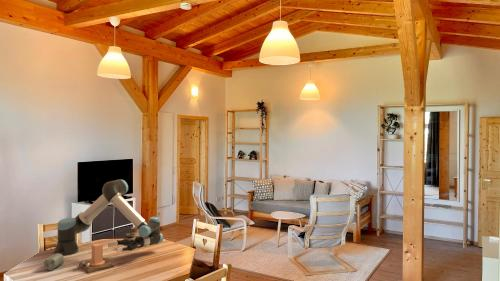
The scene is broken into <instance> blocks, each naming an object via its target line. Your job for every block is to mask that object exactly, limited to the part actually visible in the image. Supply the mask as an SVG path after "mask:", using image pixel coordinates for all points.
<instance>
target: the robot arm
mask: <svg viewBox="0 0 500 281" xmlns="http://www.w3.org/2000/svg"><path fill="white" fill-rule="evenodd" d="M101 190H102V191H101V192H102V194H101V195H100V196H99V197H98V198H97V199H96V200H95V201H93V203H92V204H91V205H90V206H88V208H86V210H84V211H82V212H79V213H78V214H77V215H76V216H75V217H67V218H62V219H60V220H59V221H58V222H57V226H56V227H57V243H56V245H55V249H54V254H57V253H60V254H62V255H63V256H71V255H74V254H76V253H78V252H79V246H78V243H77V239H76V238H77V235H78V234H80V233H83V232H86V231H87V230H89V229H90V228H91V226H92V224H93V220H94V219H95V218H96V217H97V216H98V215H99V214H100V213H101V212H103V211H104V210H105V209H106V208H107V207H108V206H109V205H110V204H112V205H113V206H114V207H115V208H116V209H117V210H118V211H120V213H121V214H122V216H124V217H125V218H126V219H127V220H128V221H130V222H131V224H132V225H133V227H136V228H137V232H138V233H139V235H140V237H136V238H135V240H132V239H129V240H123V239H119V240H118V239H117V240H116V241H114V242H113V241H112V242H108V243H107V248H113V247H116V253H121V252H126V251H130V252H132V251H134V250H136V249H140V248H146V247H148V246H154V245H158V244H161V243H163V241H164V235H163V233H162V232H160V231H161V230H160V229H161V228H160V227H161V219H160V217H159V216H151V217H150V218H149V220H148V221H146V220H145V218H144V217H142V215H141V214H140V213H139V212H138V211H137V210H136V209H135V208H134V207H133V206H132V205H131V204H130V203H129V202H128V201H127V200H126V199H125V198H124V197H123V196H124V195H126V194H127V192H128V191H129V185H128V183H127V182H126V180H124V179H116V180H110V181H107V182H105V183H104V184H103V187H102V188H101ZM128 243H129V244H128ZM124 245H127V246H124ZM118 246H120V247H118Z"/></svg>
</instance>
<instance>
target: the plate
mask: <svg viewBox="0 0 500 281" xmlns="http://www.w3.org/2000/svg"><path fill="white" fill-rule="evenodd" d="M103 260H104V261H105V264H104V265H102V266H98V267H92V266H90V268H89V269H86V266H82V262H81V263H78V268H80V269H82V270H83V271H84V272H85V273H87V274H91V273H96V272H99V271H100V272H101V271H105V270H108V269H112V268H114V267H115V264H113V263H112V262H110V261H108V260H107V259H105V258H103ZM91 261H92V260H90V261H86V263H90V262H91Z"/></svg>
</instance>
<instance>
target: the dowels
mask: <svg viewBox="0 0 500 281" xmlns="http://www.w3.org/2000/svg"><path fill="white" fill-rule="evenodd" d="M86 262H87V261H86V260H82V261H81V263H82V266H86V269H89V268H90V263H86Z"/></svg>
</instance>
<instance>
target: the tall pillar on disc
mask: <svg viewBox="0 0 500 281" xmlns="http://www.w3.org/2000/svg"><path fill="white" fill-rule="evenodd" d="M103 249H104V245H103V244H102V243H101V242H100V243H93V244H91V260H90V261H91V262H90V261H89V262H90V266H92V267H98V266H102V265H104V264H105V261H104V260H103V259H104V255H103V254H104V253H103V252H104V250H103Z"/></svg>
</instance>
